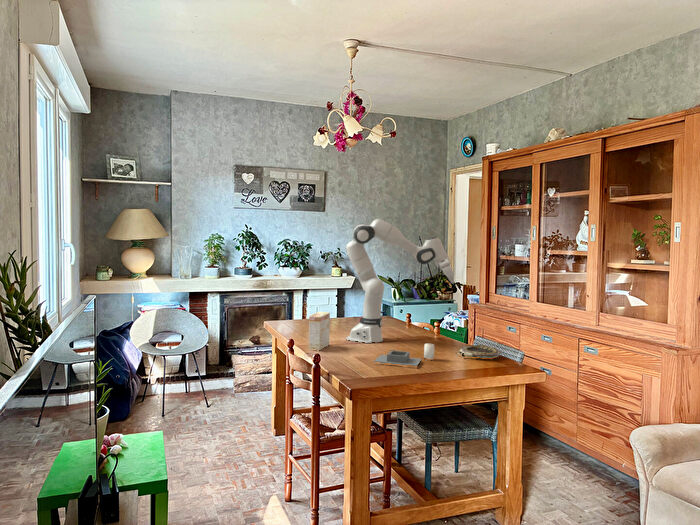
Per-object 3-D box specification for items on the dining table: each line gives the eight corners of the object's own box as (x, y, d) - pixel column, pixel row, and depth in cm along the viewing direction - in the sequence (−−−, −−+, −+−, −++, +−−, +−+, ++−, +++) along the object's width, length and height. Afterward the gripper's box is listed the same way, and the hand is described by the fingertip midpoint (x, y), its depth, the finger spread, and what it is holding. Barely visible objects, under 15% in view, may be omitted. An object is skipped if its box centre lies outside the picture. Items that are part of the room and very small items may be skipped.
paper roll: (423, 360, 273) (423, 345, 272) (424, 357, 278) (425, 343, 277) (433, 361, 272) (433, 346, 271) (434, 358, 276) (435, 343, 276)
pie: (476, 348, 304) (477, 340, 303) (517, 359, 283) (517, 350, 282) (444, 355, 286) (445, 346, 286) (485, 367, 265) (486, 357, 265)
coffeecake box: (318, 344, 303) (319, 311, 302) (329, 345, 301) (330, 312, 299) (308, 350, 289) (308, 315, 288) (319, 351, 287) (320, 316, 285)
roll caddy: (374, 364, 263) (374, 354, 263) (380, 357, 276) (380, 348, 276) (417, 368, 257) (417, 358, 256) (421, 361, 270) (421, 352, 270)
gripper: (435, 261, 323) (444, 280, 324) (440, 266, 302) (450, 287, 304) (444, 256, 322) (453, 276, 324) (449, 261, 302) (459, 282, 303)
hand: (452, 281), depth 314 cm, fingers open, 8 cm apart
